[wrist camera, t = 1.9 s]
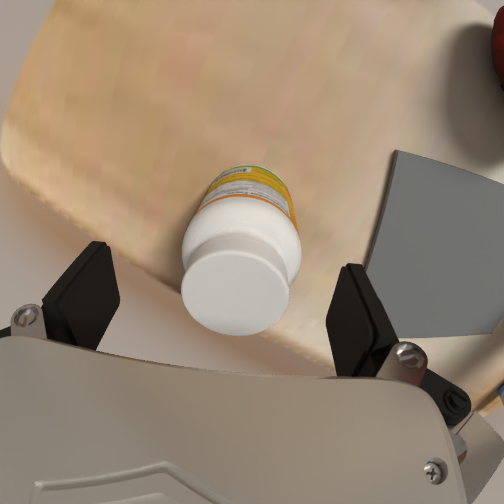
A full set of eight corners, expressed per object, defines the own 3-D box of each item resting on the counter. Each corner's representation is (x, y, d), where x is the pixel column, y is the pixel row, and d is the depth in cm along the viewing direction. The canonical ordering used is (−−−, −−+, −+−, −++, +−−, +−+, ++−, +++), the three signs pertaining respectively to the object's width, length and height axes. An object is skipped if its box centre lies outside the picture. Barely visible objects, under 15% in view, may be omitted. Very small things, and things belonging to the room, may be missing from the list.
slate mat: (548, 205, 16) (551, 207, 16) (490, 330, 24) (492, 333, 24) (395, 149, 16) (398, 151, 16) (340, 333, 24) (341, 337, 24)
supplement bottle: (266, 252, 21) (263, 363, 12) (195, 218, 20) (147, 317, 11) (306, 187, 18) (339, 275, 10) (229, 147, 17) (192, 204, 9)
